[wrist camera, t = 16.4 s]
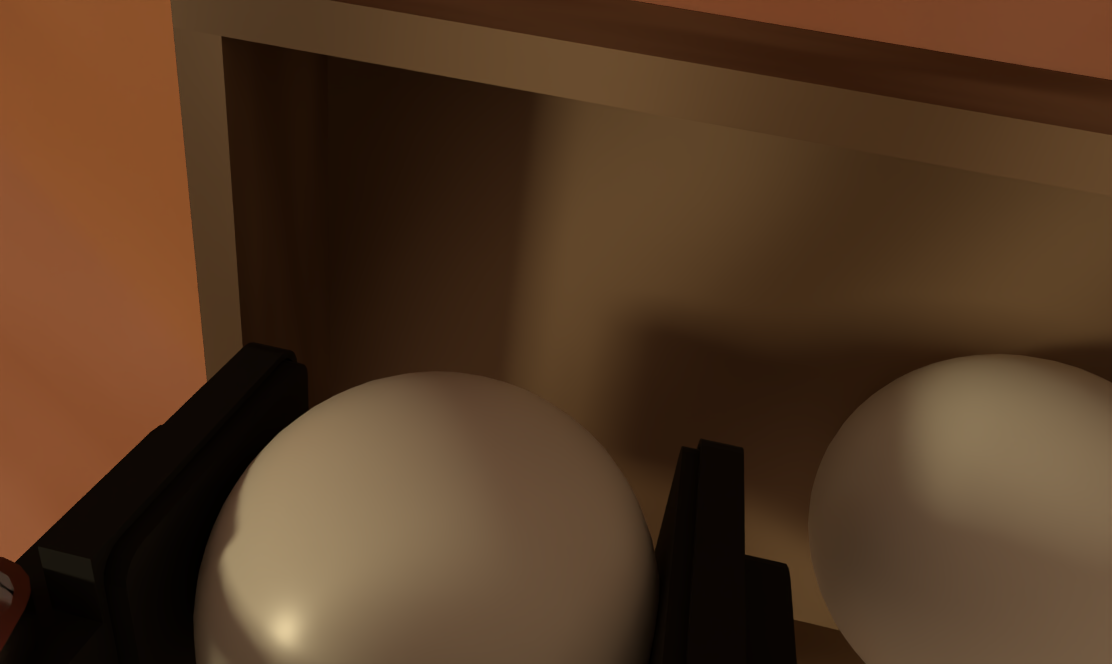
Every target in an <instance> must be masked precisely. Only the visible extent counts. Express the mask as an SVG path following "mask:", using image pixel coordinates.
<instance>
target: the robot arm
mask: <svg viewBox="0 0 1112 664" xmlns="http://www.w3.org/2000/svg"><path fill="white" fill-rule="evenodd" d="M307 411H309V402H308V371H307V368H306V366H305V365H304V364H301V363H297V358H296V355H295V353H294V352H293V351H291V350H288V349H283V348H278V347H274V346H269V345H264V344H260V343H255V342H251V343H248V344H247V345H245V346H244V347H243V348H242V349H241V350H240V351H239V352H238V353H237V354H235V355H234V356H233V357H232V358H231V359H230V360H229V361H228V362H227V363H226V364H225V365H224V366H223V367H222V368H221V369H220V370H219V371H218V372H217V373H216V374H215V375H214V376H213V377H212V378H211V379H210V380H209V381H208V382H207V383H206V384H205V385H203V386H202V387H201V388H200V389H199V390H198V391H197V392H196V393H195V394H194V395H193V396H192V397H191V398H190V399H189V400H188V401H187V402H186V403H185V404H184V405H183V406H182V407H181V408H180V409H179V410H178V411H177V412H176V413H175V414H174V415H172V416H171V417H170V418H169V419H168V420H167V421H166V422H165V423H164V424H163V425H160V426H158V427H157V428H156V429H154V430H153V431H151V432H150V433H149V434H148V435H147V436H146V437H145V438H144V439H143V440H142V441H141V442H140V443H139V444H138V445H137V446H136V447H135V448H134V449H132V450H131V451H130V452H129V453H128V454H127V455H126V456H125V457H124V458H123V459H122V460H121V461H120V462H119V463H118V464H117V465H116V466H115V467H114V468H113V469H112V470H111V471H110V472H109V473H107V474H106V475H105V476H104V477H103V478H102V479H101V480H100V481H99V482H98V483H97V484H96V485H95V486H94V487H93V488H92V489H91V490H90V491H89V492H88V493H87V494H86V495H85V496H84V497H82V498H81V499H80V500H79V501H78V502H77V503H76V504H75V505H74V506H73V507H72V508H71V509H70V510H69V511H68V512H67V513H66V514H65V515H64V516H63V517H62V518H61V519H60V520H59V521H57V522H56V523H55V524H54V525H53V526H52V527H51V528H50V529H49V530H48V531H47V532H46V533H45V534H44V535H43V536H42V537H41V538H40V539H39V540H38V541H37V542H36V543H35V544H34V545H32V546H31V547H30V548H29V549H28V550H27V551H26V552H25V553H24V554H23V555H22V556H21V557H20V558H19V559H18V560H17V561H16V562H15V563H14V562H12V561H10V560H8V559H6V558H4V557H0V664H196V657H195V644H194V625H193V614H194V604H195V594H196V586H197V580H198V573H199V569H200V565H201V562H202V558H203V554H204V551H205V547H206V544H207V541H208V539H209V536H210V533H211V530H212V528H213V525H214V523H215V521H216V519H217V517H218V515H219V512H220V510H221V508H222V506H223V504H224V502H225V501H226V499H227V497H228V496H229V494H230V492H231V491H232V489H233V487H234V486H235V484H236V483H237V481H238V480H239V478H240V477H241V475H242V474H243V473H244V471H245V470H246V468H247V467H248V465H249V464H250V463H251V462H252V461H253V460H254V459H255V458H256V456H257V455H258V454H259V453H260V452H261V451H262V450H263V449H264V448H265V447H266V446H267V445H268V444H269V443H270V442H271V441H272V439H273V438H274V437H275V436H276V435H277V434H278V433H279V432H281V431H282V430H283V429H284V428H286V427H287V426H288V425H290V424H291V423H292V422H294V421H295V420H296V419H297V418H299V417H300V416H302V415H303V414H304V413H306V412H307ZM655 557H656V563H657V569H658V575H659V581H660V591H659V605H658V612H657V619H656V626H655V633H654V638H653V644H652V649H651V654H650V660H649V664H797V658H796V644H795V631H794V617H793V604H792V590H791V578H790V571H789V568H788V566H787V564H785V563H781V562H777V561H772V560H768V559H763V558H759V557H755V556H750V555H746V554H745V499H744V449H743V448H742V447H738V446H734V445H729V444H724V443H720V442H715V441H710V440H706V439H700V440H699V443H698V446H697V449H694V448H689V447H685V446H682V447H681V450H680V453H679V457H678V461H677V465H676V469H675V473H674V477H673V481H672V485H671V489H670V493H669V497H668V501H667V505H666V509H665V513H664V517H663V520H662V524H661V528H660V532H659V536H658V540H657V544H656V548H655Z"/></svg>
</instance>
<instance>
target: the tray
mask: <svg viewBox="0 0 1112 664" xmlns="http://www.w3.org/2000/svg"><path fill="white" fill-rule="evenodd" d="M171 10H172V21H173V31H174V42H175V52H176V63H177V73H178V83H179V94H180V104H181V115H182V125H183V136H184V146H185V156H186V167H187V177H188V188H189V198H190V209H191V219H192V229H193V240H194V250H195V261H196V271H197V282H198V292H199V302H200V313H201V323H202V334H203V344H204V355H205V365H206V375H207V382H208V381H209V380H210V379H211V378H212V377H213V376H214V375H215V374H216V373H217V372H218V371H219V370H220V369H221V368H222V367H223V366H224V365H225V364H226V363H227V362H228V361H229V360H230V359H231V358H232V357H233V356H234V355H235V354H237V353H238V352H239V351H240V350H241V349H242V348H243V347H244V346H245V345H247V344H248V343H251V342H255V343H260V344H264V345H269V346H274V347H278V348H283V349H288V350H291V351H293V352H294V353H295V355H296V358H297V363H301V364H304V365H305V366H306V368H307V371H308V402H309V410H310V409H311V408H313V407H314V406H316V405H318V404H320V403H322V402H324V401H325V400H327V399H329V398H331V397H333V396H335V395H337V394H339V393H341V392H344V391H346V390H348V389H350V388H353V387H356V386H359V385H361V384H364V383H367V382H370V381H372V380H377V379H382V378H386V377H391V376H396V375H401V374H406V373H415V372H427V371H443V372H459V373H466V374H472V375H479V376H484V377H488V378H492V379H495V380H499V381H503V382H507V383H509V384H512V385H514V386H517V387H519V388H522V389H525V390H527V391H529V392H531V393H533V394H535V395H537V396H539V397H541V398H543V399H545V400H547V401H548V402H550V403H551V404H553V405H554V406H556V407H557V408H559V409H560V410H562V411H563V412H565V413H566V414H568V415H569V416H571V417H572V418H573V419H574V420H576V421H577V422H578V423H579V424H580V425H581V426H583V427H584V428H585V429H586V430H587V431H589V432H590V433H591V434H592V435H593V436H594V438H595V439H596V440H597V441H598V442H599V443H600V444H601V445H602V446H603V447H604V448H605V449H606V451H607V452H608V453H609V455H610V456H611V458H612V459H613V460H614V462H615V463H616V465H617V466H618V467H619V469H620V470H621V472H622V473H623V475H624V476H625V478H626V479H627V481H628V483H629V484H630V486H631V488H632V490H633V492H634V494H635V496H636V498H637V499H638V502H639V504H640V507H641V510H642V512H643V515H644V518H645V520H646V523H647V526H648V529H649V532H650V534H651V537H652V541H653V546H654V552H655V548H656V544H657V540H658V536H659V532H660V528H661V524H662V520H663V517H664V513H665V509H666V505H667V501H668V497H669V493H670V489H671V485H672V481H673V477H674V473H675V469H676V465H677V461H678V457H679V453H680V450H681V447H682V446H685V447H689V448H694V449H697V446H698V443H699V440H700V439H706V440H710V441H715V442H720V443H724V444H729V445H734V446H738V447H742V448H743V449H744V499H745V554H746V555H750V556H755V557H759V558H763V559H768V560H772V561H777V562H781V563H785V564H787V566H788V568H789V571H790V578H791V590H792V604H793V617H794V631H795V644H796V658H797V664H865V662H864V661H863V660H862V659H861V658H860V657H859V655H858V654H857V653H856V652H855V651H854V649H853V648H852V647H851V645H850V644H849V643H848V641H847V640H846V639H845V637H844V636H843V634H842V633H841V631H840V630H839V628H838V626H837V625H836V623H835V622H834V620H833V618H832V616H831V614H830V612H829V610H828V608H827V606H826V603H825V601H824V599H823V597H822V594H821V592H820V590H819V586H818V583H817V579H816V576H815V572H814V568H813V564H812V560H811V555H810V544H809V531H808V518H809V508H810V499H811V492H812V488H813V484H814V481H815V477H816V474H817V471H818V468H819V466H820V463H821V461H822V458H823V456H824V454H825V452H826V450H827V448H828V446H829V444H830V443H831V441H832V440H833V438H834V437H835V435H836V434H837V432H838V431H839V429H840V428H841V426H842V425H843V424H844V422H845V421H846V420H847V419H848V418H849V416H850V415H851V414H852V413H853V412H854V411H855V410H856V409H857V408H858V407H859V406H860V405H861V404H862V403H864V402H865V401H866V400H867V399H868V398H869V397H871V396H872V395H873V394H874V393H876V392H877V391H878V390H880V389H881V388H883V387H885V386H886V385H888V384H889V383H891V382H892V381H894V380H895V379H897V378H899V377H901V376H903V375H905V374H907V373H909V372H911V371H913V370H916V369H919V368H922V367H924V366H927V365H930V364H933V363H936V362H940V361H944V360H948V359H952V358H957V357H964V356H972V355H982V354H1010V355H1024V356H1030V357H1036V358H1041V359H1047V360H1052V361H1057V362H1060V363H1064V364H1067V365H1070V366H1074V367H1077V368H1080V369H1083V370H1085V371H1087V372H1090V373H1092V374H1094V375H1097V376H1099V377H1101V378H1103V379H1105V380H1107V381H1109V382H1111V383H1112V80H1106V79H1100V78H1094V77H1088V76H1082V75H1076V74H1070V73H1064V72H1058V71H1052V70H1046V69H1040V68H1034V67H1028V66H1022V65H1016V64H1010V63H1004V62H998V61H992V60H986V59H980V58H974V57H968V56H962V55H956V54H950V53H944V52H938V51H932V50H926V49H920V48H914V47H908V46H902V45H896V44H890V43H884V42H878V41H872V40H866V39H860V38H854V37H848V36H842V35H836V34H830V33H824V32H818V31H812V30H805V29H799V28H793V27H787V26H781V25H775V24H769V23H763V22H757V21H751V20H745V19H739V18H733V17H727V16H721V15H715V14H709V13H703V12H697V11H691V10H685V9H679V8H673V7H667V6H661V5H655V4H649V3H643V2H637V1H631V0H171Z"/></svg>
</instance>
